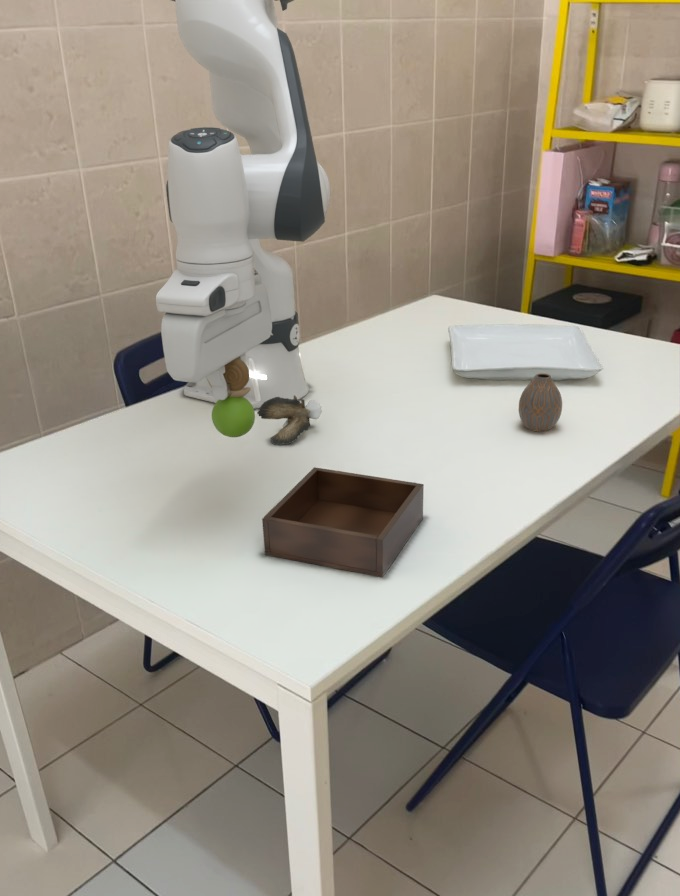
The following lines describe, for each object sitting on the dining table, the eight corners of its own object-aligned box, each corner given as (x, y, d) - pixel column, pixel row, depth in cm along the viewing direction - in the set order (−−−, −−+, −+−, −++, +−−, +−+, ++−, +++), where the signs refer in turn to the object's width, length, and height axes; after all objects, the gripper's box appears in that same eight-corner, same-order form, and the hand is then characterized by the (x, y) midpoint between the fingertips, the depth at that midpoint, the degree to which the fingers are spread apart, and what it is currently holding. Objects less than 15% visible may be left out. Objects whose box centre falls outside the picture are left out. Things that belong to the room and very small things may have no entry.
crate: (264, 554, 109) (261, 518, 106) (315, 500, 121) (314, 467, 119) (382, 577, 104) (382, 540, 101) (423, 518, 116) (423, 483, 114)
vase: (559, 436, 140) (565, 384, 135) (515, 433, 141) (519, 381, 136) (560, 420, 145) (565, 369, 141) (518, 417, 147) (522, 367, 142)
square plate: (446, 341, 184) (447, 323, 182) (578, 342, 183) (580, 323, 181) (451, 386, 160) (452, 365, 158) (602, 386, 159) (605, 366, 157)
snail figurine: (213, 427, 115) (204, 336, 110) (260, 429, 114) (254, 338, 109) (200, 442, 110) (190, 348, 105) (250, 444, 110) (243, 350, 104)
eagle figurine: (282, 412, 147) (248, 420, 139) (303, 381, 143) (269, 387, 135) (312, 444, 145) (278, 454, 138) (334, 414, 141) (300, 422, 134)
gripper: (235, 261, 112) (245, 366, 119) (146, 300, 96) (163, 419, 103) (280, 264, 110) (287, 370, 117) (196, 304, 94) (210, 425, 101)
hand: (228, 393), depth 110 cm, fingers closed on snail figurine
